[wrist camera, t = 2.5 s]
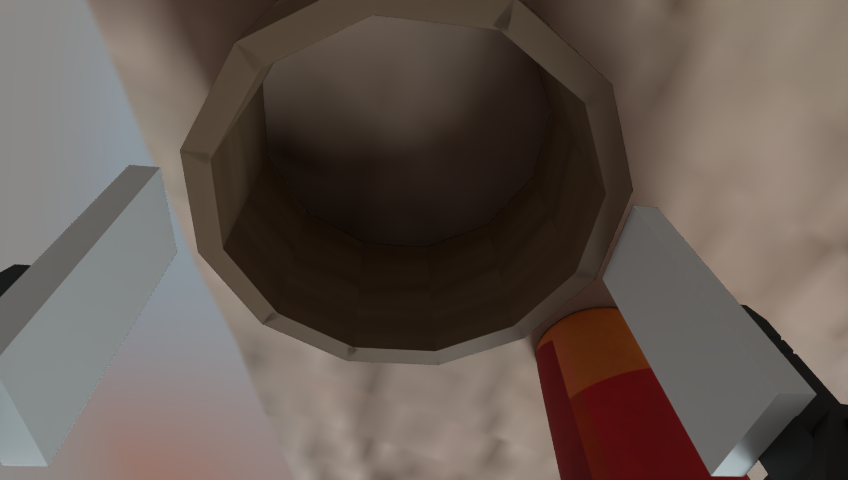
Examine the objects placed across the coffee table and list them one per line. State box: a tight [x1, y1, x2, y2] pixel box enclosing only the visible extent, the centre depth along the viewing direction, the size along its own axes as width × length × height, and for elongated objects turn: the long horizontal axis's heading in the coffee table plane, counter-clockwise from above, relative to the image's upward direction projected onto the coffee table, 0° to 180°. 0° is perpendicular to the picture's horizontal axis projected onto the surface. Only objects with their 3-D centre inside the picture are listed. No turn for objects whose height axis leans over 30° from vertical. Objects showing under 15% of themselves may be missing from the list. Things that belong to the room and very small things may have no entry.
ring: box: [180, 0, 633, 365], centre depth 16 cm, size 12×12×6 cm
